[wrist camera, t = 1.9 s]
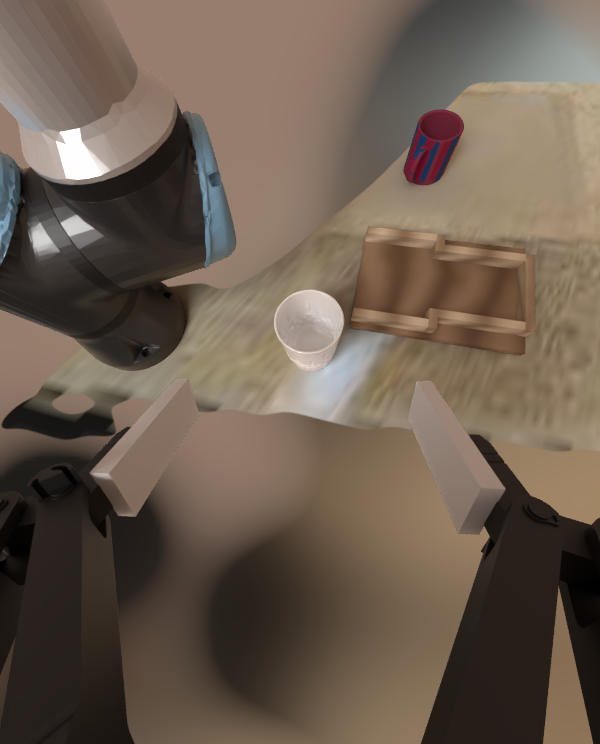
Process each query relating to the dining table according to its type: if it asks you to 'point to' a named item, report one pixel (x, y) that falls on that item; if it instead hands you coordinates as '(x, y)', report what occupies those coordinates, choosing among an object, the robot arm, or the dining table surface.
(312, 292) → the white cup
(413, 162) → the mug
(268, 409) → the dining table surface
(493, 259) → the wooden tray
